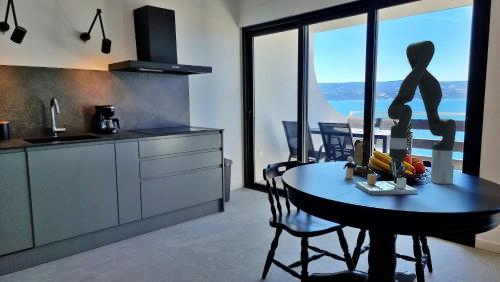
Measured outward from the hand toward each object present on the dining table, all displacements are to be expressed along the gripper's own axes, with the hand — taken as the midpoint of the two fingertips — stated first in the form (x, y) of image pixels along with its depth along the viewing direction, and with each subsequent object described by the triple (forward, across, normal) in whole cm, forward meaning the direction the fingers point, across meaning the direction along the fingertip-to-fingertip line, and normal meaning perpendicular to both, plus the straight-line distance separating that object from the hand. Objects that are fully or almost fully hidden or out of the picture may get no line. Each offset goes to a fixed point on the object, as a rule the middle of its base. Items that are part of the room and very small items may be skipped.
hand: (396, 183), depth 157 cm
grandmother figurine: (+4, +25, +13) cm, 28 cm away
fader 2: (+1, -4, 0) cm, 4 cm away
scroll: (+4, +38, +1) cm, 38 cm away
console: (+3, +2, +5) cm, 6 cm away
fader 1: (+1, +5, +10) cm, 11 cm away
